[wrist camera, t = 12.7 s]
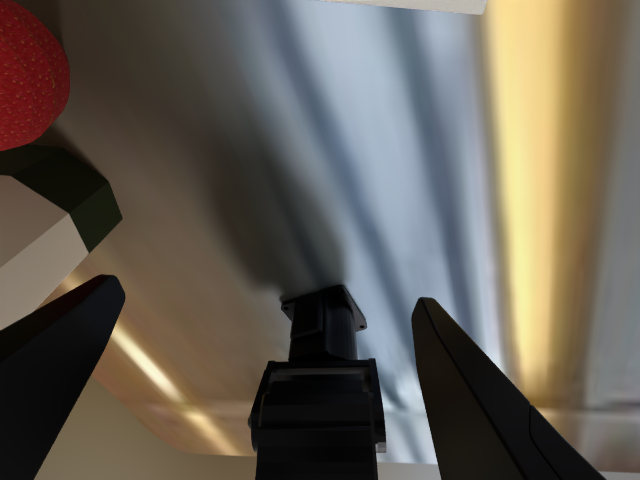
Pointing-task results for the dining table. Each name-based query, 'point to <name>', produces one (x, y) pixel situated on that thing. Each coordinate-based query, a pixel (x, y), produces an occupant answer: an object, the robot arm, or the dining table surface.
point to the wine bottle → (46, 223)
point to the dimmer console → (426, 5)
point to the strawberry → (29, 76)
